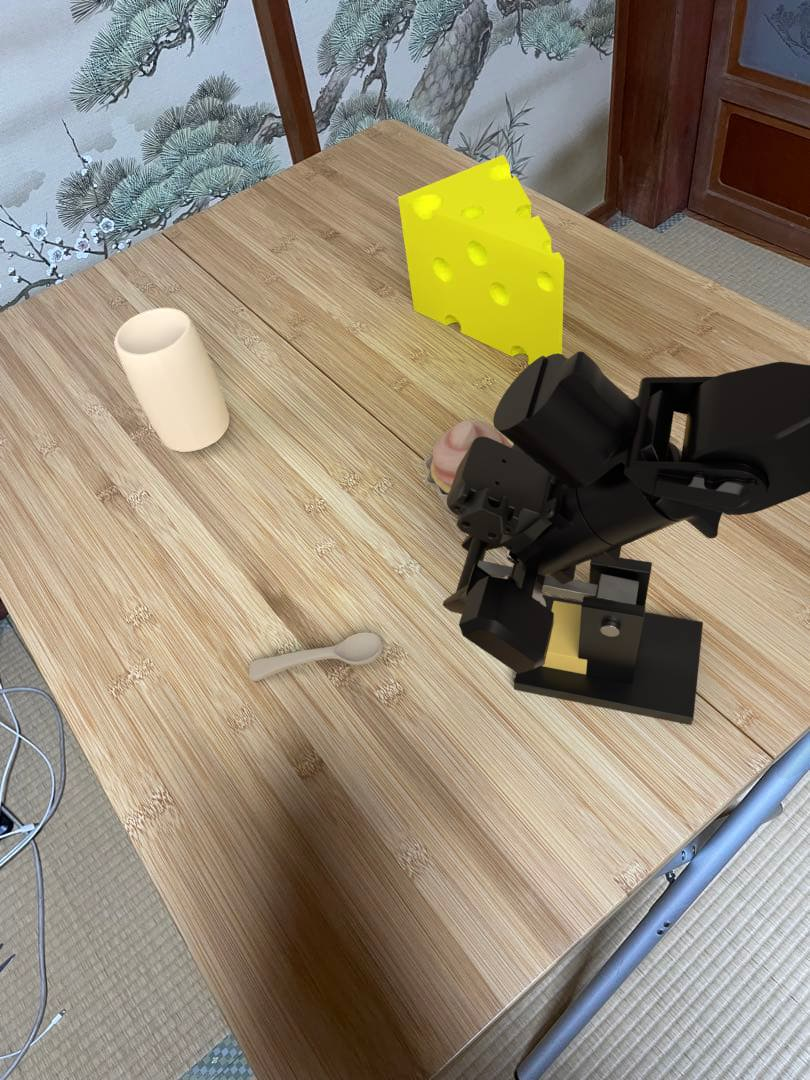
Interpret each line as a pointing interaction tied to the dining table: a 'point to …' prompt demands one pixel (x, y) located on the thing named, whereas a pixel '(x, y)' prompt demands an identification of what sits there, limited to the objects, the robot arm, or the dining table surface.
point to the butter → (565, 639)
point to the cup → (173, 378)
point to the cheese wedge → (484, 261)
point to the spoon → (322, 655)
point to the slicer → (626, 654)
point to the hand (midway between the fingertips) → (456, 576)
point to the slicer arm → (553, 580)
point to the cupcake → (455, 454)
